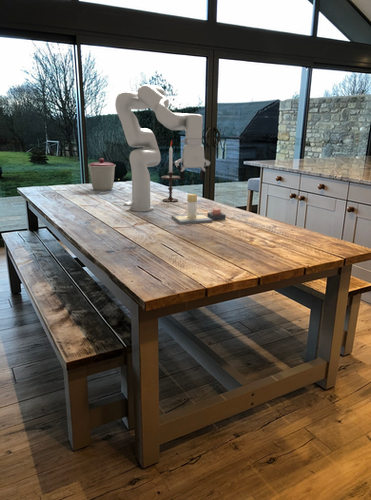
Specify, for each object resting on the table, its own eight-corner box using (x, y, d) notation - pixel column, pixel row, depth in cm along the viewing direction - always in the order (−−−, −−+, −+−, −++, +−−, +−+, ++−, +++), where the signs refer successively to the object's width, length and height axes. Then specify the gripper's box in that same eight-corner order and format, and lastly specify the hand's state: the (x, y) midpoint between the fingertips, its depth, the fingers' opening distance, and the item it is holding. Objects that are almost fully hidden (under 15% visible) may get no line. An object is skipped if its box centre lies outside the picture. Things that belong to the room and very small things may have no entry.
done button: (214, 216, 199) (214, 210, 198) (211, 214, 203) (211, 208, 202) (221, 216, 201) (222, 210, 200) (218, 214, 204) (218, 208, 203)
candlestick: (176, 199, 250) (177, 139, 239) (181, 202, 240) (182, 140, 229) (159, 199, 246) (159, 139, 236) (164, 203, 236) (164, 140, 226)
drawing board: (180, 224, 189) (180, 221, 189) (171, 217, 202) (171, 215, 201) (212, 222, 194) (212, 219, 194) (201, 215, 207) (201, 213, 206)
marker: (188, 218, 195) (189, 195, 192) (185, 216, 199) (186, 194, 196) (197, 218, 196) (198, 195, 193) (194, 215, 200) (195, 193, 197)
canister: (90, 187, 284) (89, 156, 278) (117, 187, 286) (116, 157, 280) (87, 192, 267) (85, 159, 261) (115, 192, 269) (114, 159, 263)
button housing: (212, 220, 198) (212, 215, 197) (207, 217, 204) (207, 212, 203) (225, 219, 200) (225, 214, 199) (219, 216, 206) (220, 211, 206)
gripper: (178, 142, 181) (177, 181, 186) (214, 143, 186) (212, 180, 192) (173, 141, 188) (172, 178, 193) (207, 142, 193) (206, 178, 199)
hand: (192, 179), depth 192 cm, fingers open, 9 cm apart
